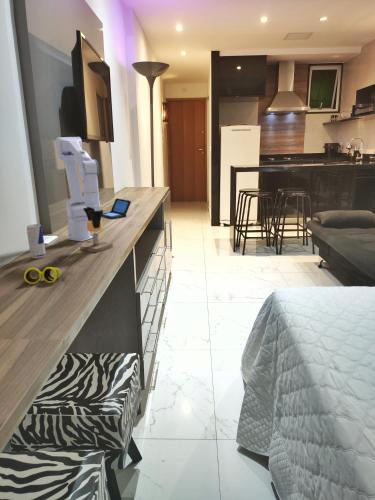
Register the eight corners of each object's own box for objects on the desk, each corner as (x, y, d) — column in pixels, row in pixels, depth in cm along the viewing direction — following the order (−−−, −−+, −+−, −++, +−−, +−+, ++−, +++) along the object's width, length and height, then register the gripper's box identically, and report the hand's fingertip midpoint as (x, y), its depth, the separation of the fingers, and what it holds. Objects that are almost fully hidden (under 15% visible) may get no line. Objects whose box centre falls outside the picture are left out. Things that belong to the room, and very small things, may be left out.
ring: (84, 230, 144) (83, 222, 143) (95, 227, 148) (94, 219, 147) (94, 232, 141) (94, 223, 140) (105, 229, 145) (104, 220, 144)
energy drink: (49, 255, 139) (44, 224, 136) (39, 259, 135) (34, 227, 131) (37, 254, 141) (33, 223, 138) (27, 258, 136) (22, 226, 133)
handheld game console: (98, 216, 215) (96, 200, 212) (117, 213, 223) (116, 198, 221) (113, 219, 204) (111, 203, 201) (132, 216, 213) (131, 200, 210)
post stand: (80, 249, 145) (78, 234, 144) (96, 244, 153) (95, 230, 151) (96, 252, 141) (95, 237, 139) (112, 246, 148) (111, 232, 146)
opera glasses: (61, 280, 116) (60, 264, 115) (57, 283, 110) (55, 266, 110) (30, 282, 115) (28, 266, 114) (24, 285, 109) (22, 268, 109)
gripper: (76, 191, 145) (80, 224, 149) (85, 195, 132) (89, 231, 136) (94, 189, 148) (97, 222, 152) (104, 193, 136) (107, 228, 139)
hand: (94, 226), depth 144 cm, fingers closed on ring, 6 cm apart
